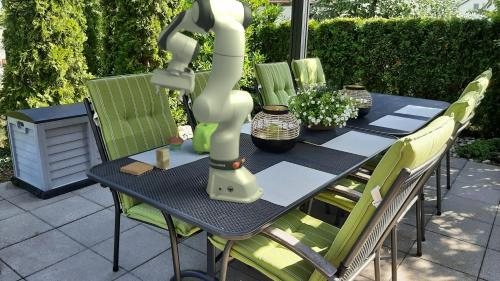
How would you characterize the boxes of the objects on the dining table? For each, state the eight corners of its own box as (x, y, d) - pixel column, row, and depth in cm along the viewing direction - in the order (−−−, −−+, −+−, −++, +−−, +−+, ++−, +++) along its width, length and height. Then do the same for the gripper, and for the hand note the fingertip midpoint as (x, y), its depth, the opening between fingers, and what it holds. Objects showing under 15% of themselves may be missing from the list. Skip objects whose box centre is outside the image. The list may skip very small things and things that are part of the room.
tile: (153, 170, 169) (153, 165, 169) (137, 177, 161) (137, 172, 160) (137, 166, 174) (136, 161, 173) (120, 173, 165) (120, 168, 165)
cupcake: (187, 148, 200) (186, 126, 197) (176, 152, 193) (175, 130, 190) (174, 146, 204) (174, 124, 201) (164, 150, 197) (162, 128, 194)
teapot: (232, 158, 186) (232, 127, 182) (189, 157, 187) (188, 126, 182) (235, 143, 210) (235, 116, 206) (197, 143, 211) (196, 115, 206)
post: (169, 167, 172) (168, 149, 169) (163, 170, 168) (162, 151, 166) (162, 166, 173) (161, 147, 171) (156, 169, 170) (155, 150, 167)
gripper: (153, 63, 171) (143, 89, 166) (196, 71, 169) (188, 97, 164) (157, 70, 177) (147, 96, 172) (198, 78, 175) (190, 104, 170)
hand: (167, 97), depth 168 cm, fingers open, 8 cm apart
